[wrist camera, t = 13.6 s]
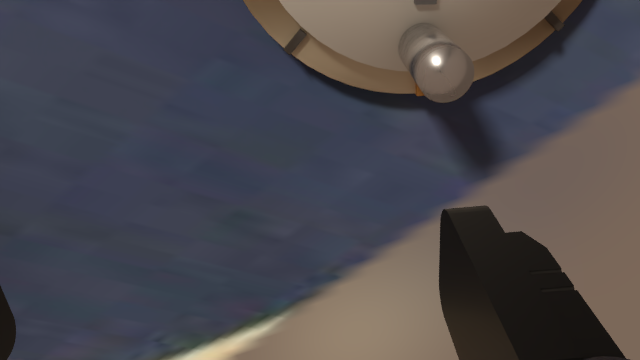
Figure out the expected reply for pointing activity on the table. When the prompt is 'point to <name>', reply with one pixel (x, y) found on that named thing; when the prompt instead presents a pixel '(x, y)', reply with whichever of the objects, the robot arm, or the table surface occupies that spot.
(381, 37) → the dial
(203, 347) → the table surface
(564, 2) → the dial base
